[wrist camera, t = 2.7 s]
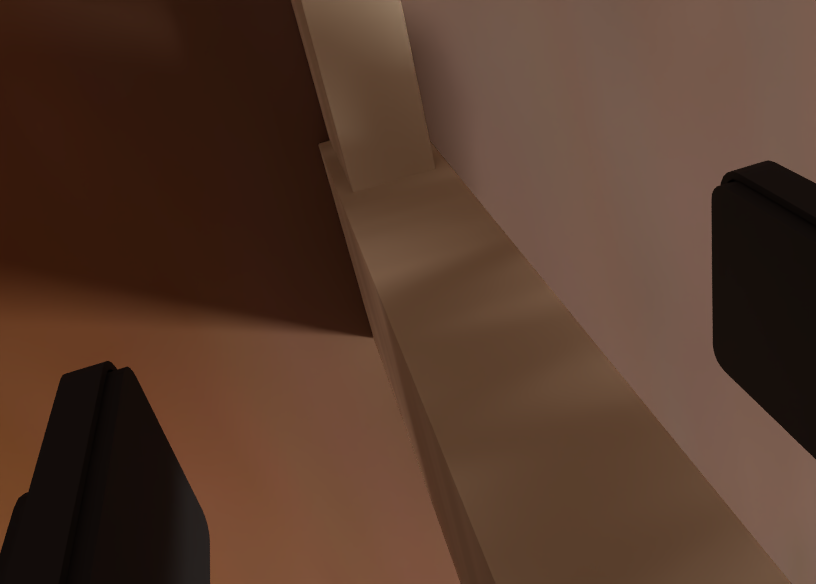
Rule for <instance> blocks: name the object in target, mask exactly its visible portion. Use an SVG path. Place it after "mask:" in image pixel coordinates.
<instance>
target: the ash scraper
mask: <svg viewBox="0 0 816 584" xmlns="http://www.w3.org/2000/svg"><path fill="white" fill-rule="evenodd" d="M291 3H292V6H293V10H294V13H295V17H296V21H297V24H298V28H299V31H300V35H301V39H302V42H303V46H304V49H305V53H306V57H307V60H308V64H309V67H310V71H311V75H312V78H313V82H314V85H315V89H316V93H317V96H318V100H319V103H320V107H321V111H322V114H323V118H324V121H325V125H326V129H327V132H328V136H329V139H330V141H326V142H323V143H319V144H318V145H319V149H320V152H321V156H322V159H323V163H324V166H325V170H326V173H327V177H328V180H329V184H330V187H331V191H332V194H333V198H334V201H335V205H336V208H337V212H338V215H339V219H340V222H341V226H342V229H343V232H344V236H345V239H346V243H347V246H348V250H349V253H350V257H351V260H352V264H353V267H354V271H355V274H356V278H357V281H358V285H359V288H360V292H361V295H362V299H363V302H364V306H365V309H366V313H367V316H368V320H369V323H370V327H371V330H372V334H373V337H374V340H375V343H376V346H377V349H378V352H379V355H380V357H381V360H382V363H383V366H384V369H385V371H386V374H387V377H388V380H389V383H390V386H391V388H392V391H393V394H394V397H395V400H396V402H397V405H398V408H399V411H400V414H401V417H402V419H403V422H404V425H405V428H406V431H407V433H408V436H409V439H410V442H411V445H412V448H413V450H414V453H415V456H416V459H417V462H418V464H419V467H420V470H421V473H422V476H423V479H424V481H425V484H426V487H427V490H428V493H429V495H430V498H431V501H432V504H433V507H434V510H435V512H436V515H437V518H438V521H439V524H440V526H441V529H442V532H443V535H444V538H445V541H446V543H447V546H448V549H449V552H450V555H451V557H452V560H453V563H454V566H455V569H456V572H457V574H458V577H459V580H460V583H461V584H791V582H790V581H789V580H788V579H787V578H786V576H785V575H784V574H783V573H782V571H781V570H780V569H779V568H778V566H777V565H776V564H775V563H774V562H773V560H772V559H771V558H770V557H769V555H768V554H767V553H766V552H765V551H764V549H763V548H762V547H761V546H760V544H759V543H758V542H757V541H756V540H755V538H754V537H753V536H752V535H751V533H750V532H749V531H748V530H747V529H746V527H745V526H744V525H743V524H742V522H741V521H740V520H739V519H738V518H737V516H736V515H735V514H734V513H733V511H732V510H731V509H730V508H729V507H728V505H727V504H726V503H725V502H724V500H723V499H722V498H721V497H720V496H719V494H718V493H717V492H716V491H715V489H714V488H713V487H712V486H711V485H710V483H709V482H708V481H707V480H706V478H705V477H704V476H703V475H702V473H701V472H700V471H699V470H698V469H697V467H696V466H695V465H694V464H693V462H692V461H691V460H690V459H689V458H688V456H687V455H686V454H685V453H684V451H683V450H682V449H681V448H680V447H679V445H678V444H677V443H676V442H675V440H674V439H673V438H672V437H671V436H670V434H669V433H668V432H667V431H666V429H665V428H664V427H663V426H662V425H661V423H660V422H659V421H658V420H657V418H656V417H655V416H654V415H653V414H652V412H651V411H650V410H649V409H648V407H647V406H646V405H645V404H644V403H643V401H642V400H641V399H640V398H639V396H638V395H637V394H636V393H635V391H634V390H633V389H632V388H631V387H630V385H629V384H628V383H627V382H626V380H625V379H624V378H623V377H622V376H621V374H620V373H619V372H618V371H617V369H616V368H615V367H614V366H613V365H612V363H611V362H610V361H609V360H608V358H607V357H606V356H605V355H604V354H603V352H602V351H601V350H600V349H599V347H598V346H597V345H596V344H595V343H594V341H593V340H592V339H591V338H590V336H589V335H588V334H587V333H586V332H585V330H584V329H583V328H582V327H581V325H580V324H579V323H578V322H577V321H576V319H575V318H574V317H573V316H572V314H571V313H570V312H569V311H568V309H567V308H566V307H565V306H564V305H563V303H562V302H561V301H560V300H559V298H558V297H557V296H556V295H555V294H554V292H553V291H552V290H551V289H550V287H549V286H548V285H547V284H546V283H545V281H544V280H543V279H542V278H541V276H540V275H539V274H538V273H537V272H536V270H535V269H534V268H533V267H532V265H531V264H530V263H529V262H528V261H527V259H526V258H525V257H524V256H523V254H522V253H521V252H520V251H519V250H518V248H517V247H516V246H515V245H514V243H513V242H512V241H511V240H510V239H509V237H508V236H507V235H506V234H505V232H504V231H503V230H502V229H501V228H500V226H499V225H498V224H497V223H496V221H495V220H494V219H493V218H492V216H491V215H490V214H489V213H488V212H487V210H486V209H485V208H484V207H483V205H482V204H481V203H480V202H479V201H478V199H477V198H476V197H475V196H474V194H473V193H472V192H471V191H470V190H469V188H468V187H467V186H466V185H465V183H464V182H463V181H462V180H461V179H460V177H459V176H458V175H457V174H456V172H455V171H454V170H453V169H452V168H451V166H450V165H449V164H448V163H447V161H446V160H445V159H444V158H443V157H442V155H441V154H440V153H439V152H438V150H437V149H436V148H435V147H434V146H433V144H432V143H431V142H430V139H429V134H428V130H427V125H426V120H425V115H424V110H423V105H422V101H421V96H420V91H419V86H418V81H417V76H416V72H415V67H414V62H413V57H412V52H411V47H410V43H409V38H408V33H407V28H406V23H405V18H404V14H403V9H402V4H401V0H291Z"/></svg>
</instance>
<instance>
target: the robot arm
mask: <svg viewBox="0 0 816 584" xmlns="http://www.w3.org/2000/svg"><path fill="white" fill-rule="evenodd" d="M712 302H713V349H714V353H715V356H716V359H717V361H718V363H719V364H720V366H721V367H722V369H723V370H724V371H725V372H726V373H727V374H728V375H729V376H730V377H731V378H732V379H733V380H734V381H735V382H736V383H737V384H738V385H739V386H740V387H742V388H743V389H744V390H745V391H746V392H747V393H748V394H749V395H750V396H751V397H752V398H753V399H754V400H755V401H756V402H757V403H758V404H759V405H760V406H761V407H762V408H763V409H764V410H765V411H766V412H767V413H768V414H769V415H771V416H772V417H773V418H774V419H775V420H776V421H777V422H778V423H779V424H780V425H781V426H782V427H783V428H784V429H785V430H786V431H787V432H788V433H789V434H790V435H791V436H792V437H793V438H794V439H795V440H796V441H797V442H798V443H799V444H801V445H802V446H803V447H804V448H805V449H806V450H807V451H808V452H809V453H810V454H811V455H812V456H813V457H814V458H815V459H816V183H814V182H812V181H810V180H808V179H806V178H804V177H802V176H800V175H798V174H796V173H795V172H793V171H791V170H789V169H787V168H785V167H783V166H781V165H779V164H777V163H775V162H772V161H764V162H760V163H757V164H754V165H751V166H747V167H744V168H741V169H737V170H734V171H731V172H727V173H726V174H725V175H724V176H723V179H722V181H721V186H717V187H716V188H715V189H714V191H713V193H712ZM0 584H210V539H209V530H208V526H207V522H206V518H205V515H204V513H203V511H202V509H201V507H200V505H199V503H198V501H197V498H196V496H195V494H194V492H193V490H192V488H191V486H190V484H189V482H188V480H187V478H186V476H185V474H184V472H183V470H182V468H181V466H180V464H179V462H178V460H177V458H176V456H175V454H174V452H173V450H172V448H171V446H170V444H169V442H168V440H167V438H166V436H165V434H164V432H163V430H162V428H161V426H160V424H159V422H158V420H157V418H156V416H155V414H154V412H153V410H152V408H151V406H150V404H149V402H148V400H147V398H146V396H145V394H144V392H143V390H142V388H141V386H140V384H139V382H138V380H137V378H136V376H135V374H134V372H133V371H132V370H131V369H130V368H129V367H125V368H121V369H118V370H117V368H116V367H115V366H114V365H113V364H112V363H111V362H109V361H106V362H103V363H99V364H96V365H93V366H89V367H86V368H83V369H80V370H76V371H73V372H70V373H66V374H64V375H62V377H61V379H60V382H59V386H58V390H57V393H56V397H55V400H54V404H53V407H52V411H51V414H50V418H49V421H48V425H47V428H46V432H45V435H44V439H43V442H42V446H41V450H40V453H39V457H38V460H37V464H36V467H35V471H34V474H33V478H32V481H31V485H30V488H29V492H27V493H25V494H23V495H22V496H21V497H19V498H18V500H17V503H16V505H15V507H14V509H13V513H12V516H11V519H10V523H9V526H8V529H7V533H6V536H5V539H4V543H3V546H2V549H1V553H0Z"/></svg>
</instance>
